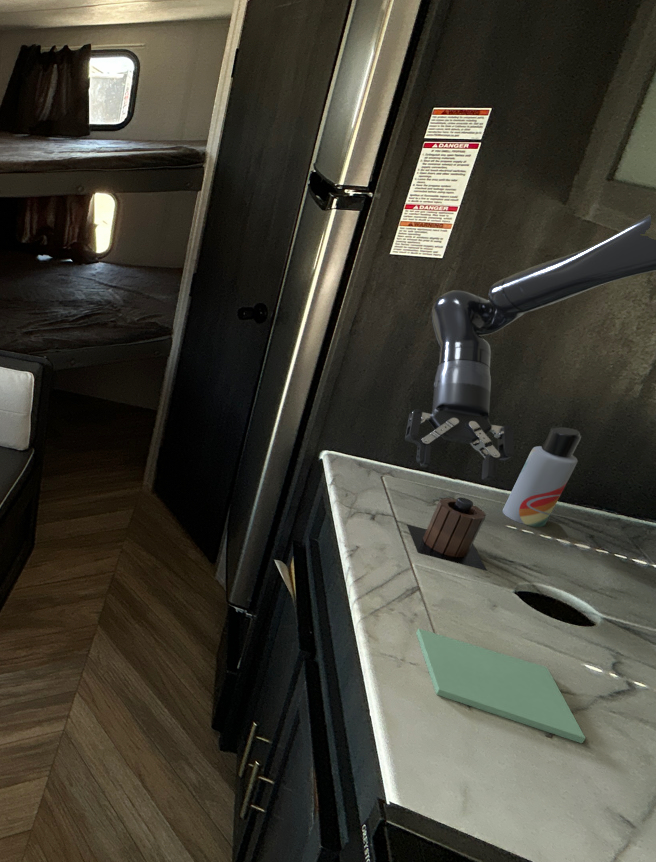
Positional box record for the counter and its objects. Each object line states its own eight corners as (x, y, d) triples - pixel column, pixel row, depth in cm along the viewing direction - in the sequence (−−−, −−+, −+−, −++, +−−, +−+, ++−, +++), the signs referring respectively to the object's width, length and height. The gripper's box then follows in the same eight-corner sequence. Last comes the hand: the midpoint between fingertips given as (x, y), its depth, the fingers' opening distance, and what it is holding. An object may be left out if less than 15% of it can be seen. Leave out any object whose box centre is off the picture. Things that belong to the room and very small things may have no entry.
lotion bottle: (547, 536, 114) (597, 440, 106) (505, 527, 116) (551, 432, 109) (535, 520, 118) (582, 426, 111) (495, 511, 121) (538, 419, 113)
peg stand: (467, 546, 111) (492, 494, 107) (483, 577, 104) (510, 523, 100) (403, 530, 115) (424, 480, 111) (414, 559, 108) (437, 506, 104)
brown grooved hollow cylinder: (461, 542, 110) (479, 504, 107) (471, 561, 106) (490, 522, 102) (419, 531, 113) (435, 494, 110) (427, 550, 108) (444, 512, 105)
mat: (544, 672, 87) (547, 667, 87) (582, 743, 77) (586, 738, 77) (415, 633, 93) (418, 628, 93) (436, 694, 84) (438, 689, 83)
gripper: (420, 374, 116) (412, 455, 111) (524, 390, 110) (521, 478, 105) (405, 389, 123) (396, 467, 118) (502, 405, 116) (498, 489, 111)
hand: (455, 472), depth 111 cm, fingers open, 8 cm apart
